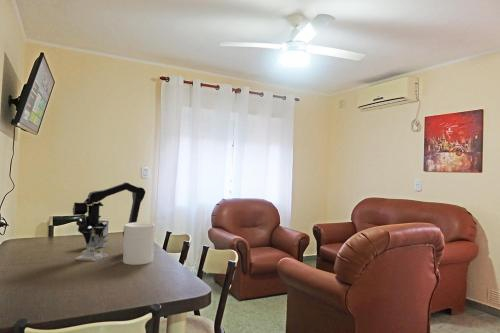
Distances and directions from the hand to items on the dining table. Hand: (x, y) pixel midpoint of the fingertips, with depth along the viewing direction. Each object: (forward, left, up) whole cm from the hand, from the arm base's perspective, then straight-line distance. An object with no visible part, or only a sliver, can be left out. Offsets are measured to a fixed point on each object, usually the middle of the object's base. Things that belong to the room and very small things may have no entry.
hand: (92, 242), depth 188 cm
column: (0, 0, -3) cm, 3 cm away
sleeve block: (0, 0, -9) cm, 9 cm away
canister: (-27, -1, -9) cm, 28 cm away
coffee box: (+12, -26, -9) cm, 30 cm away
